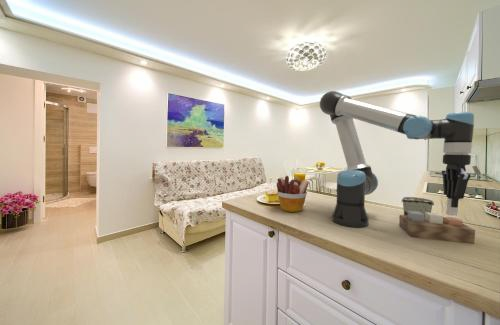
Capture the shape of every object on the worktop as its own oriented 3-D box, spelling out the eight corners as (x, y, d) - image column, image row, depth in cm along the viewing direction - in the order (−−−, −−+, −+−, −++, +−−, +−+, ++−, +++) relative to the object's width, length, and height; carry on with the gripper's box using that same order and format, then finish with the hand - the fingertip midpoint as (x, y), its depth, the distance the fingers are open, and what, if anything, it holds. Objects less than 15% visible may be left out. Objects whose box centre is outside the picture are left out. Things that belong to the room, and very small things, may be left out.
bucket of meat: (283, 203, 128) (284, 171, 127) (310, 207, 120) (311, 173, 118) (270, 212, 111) (270, 175, 110) (300, 217, 102) (301, 177, 101)
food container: (428, 218, 101) (429, 198, 101) (433, 222, 96) (434, 201, 95) (397, 215, 106) (398, 195, 106) (400, 218, 101) (401, 198, 100)
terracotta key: (448, 231, 79) (449, 219, 79) (442, 227, 83) (443, 216, 83) (461, 232, 78) (462, 221, 78) (455, 228, 82) (455, 217, 82)
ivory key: (429, 226, 81) (430, 215, 81) (424, 222, 85) (425, 212, 84) (442, 227, 80) (443, 216, 79) (436, 224, 84) (437, 213, 83)
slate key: (411, 224, 83) (412, 213, 83) (407, 221, 87) (407, 210, 86) (423, 225, 82) (424, 214, 81) (418, 222, 85) (419, 211, 85)
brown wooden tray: (410, 236, 80) (411, 223, 79) (399, 225, 91) (399, 214, 91) (474, 243, 74) (475, 229, 74) (453, 231, 85) (453, 219, 85)
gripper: (482, 154, 71) (476, 221, 73) (457, 153, 84) (453, 211, 85) (455, 154, 74) (449, 219, 75) (435, 153, 86) (430, 209, 88)
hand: (451, 214), depth 80 cm, fingers closed
